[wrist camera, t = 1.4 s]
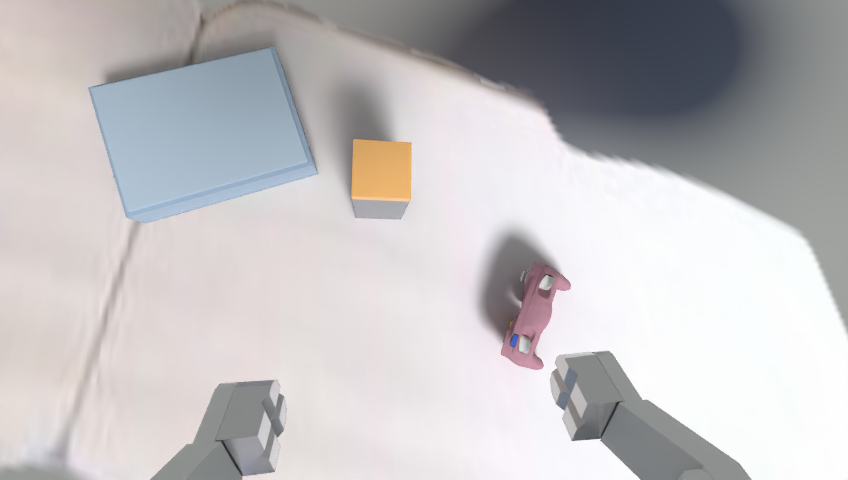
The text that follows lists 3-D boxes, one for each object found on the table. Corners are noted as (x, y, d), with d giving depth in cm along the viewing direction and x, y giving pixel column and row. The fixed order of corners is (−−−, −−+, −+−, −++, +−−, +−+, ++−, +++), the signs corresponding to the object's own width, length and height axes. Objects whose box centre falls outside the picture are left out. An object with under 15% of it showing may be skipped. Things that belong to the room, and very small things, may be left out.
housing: (401, 219, 37) (410, 198, 29) (355, 217, 37) (351, 196, 28) (401, 176, 38) (411, 142, 29) (357, 173, 37) (353, 138, 28)
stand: (146, 223, 34) (123, 216, 31) (110, 103, 35) (84, 84, 32) (318, 173, 37) (313, 163, 34) (281, 63, 38) (273, 43, 34)
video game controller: (529, 267, 40) (527, 250, 34) (572, 282, 39) (578, 267, 32) (496, 354, 39) (488, 354, 32) (540, 374, 37) (540, 377, 31)
